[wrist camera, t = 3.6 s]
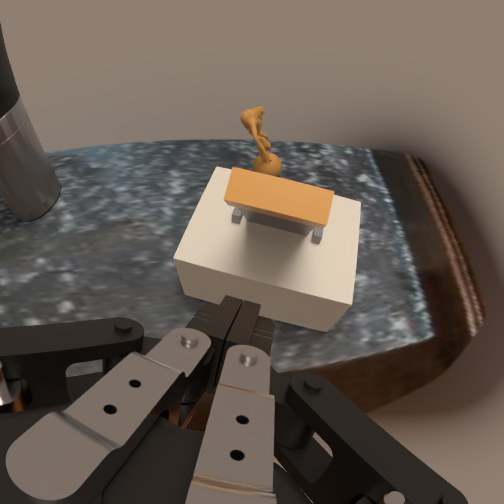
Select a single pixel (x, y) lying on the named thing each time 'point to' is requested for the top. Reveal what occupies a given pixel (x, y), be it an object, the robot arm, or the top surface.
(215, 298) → the breaker housing
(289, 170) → the top surface
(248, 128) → the figurine
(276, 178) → the handle
